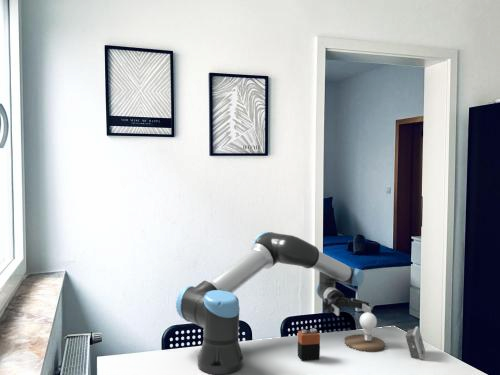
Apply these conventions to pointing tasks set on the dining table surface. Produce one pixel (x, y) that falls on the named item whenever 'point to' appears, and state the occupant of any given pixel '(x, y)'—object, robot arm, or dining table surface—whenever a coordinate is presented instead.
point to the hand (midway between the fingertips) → (354, 311)
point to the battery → (308, 345)
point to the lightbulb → (368, 324)
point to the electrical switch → (415, 343)
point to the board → (364, 343)
